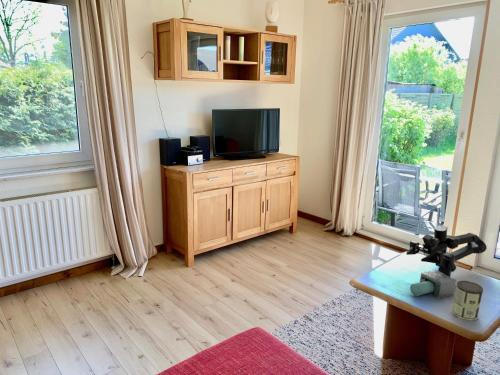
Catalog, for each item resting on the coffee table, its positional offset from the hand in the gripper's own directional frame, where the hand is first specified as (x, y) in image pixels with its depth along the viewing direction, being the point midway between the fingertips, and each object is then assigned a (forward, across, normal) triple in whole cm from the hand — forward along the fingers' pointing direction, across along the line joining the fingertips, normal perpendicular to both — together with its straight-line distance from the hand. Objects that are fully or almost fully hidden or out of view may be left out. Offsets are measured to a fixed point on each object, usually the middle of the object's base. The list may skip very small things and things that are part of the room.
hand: (413, 256), depth 185 cm
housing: (-7, +7, +19) cm, 21 cm away
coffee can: (-2, +27, +19) cm, 33 cm away
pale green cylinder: (+1, +7, +17) cm, 18 cm away
